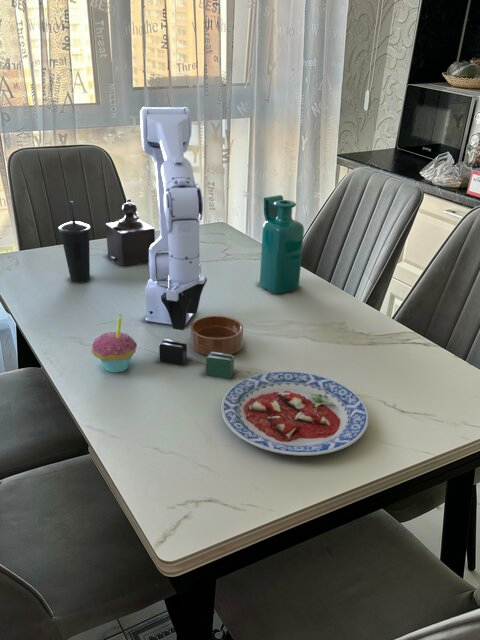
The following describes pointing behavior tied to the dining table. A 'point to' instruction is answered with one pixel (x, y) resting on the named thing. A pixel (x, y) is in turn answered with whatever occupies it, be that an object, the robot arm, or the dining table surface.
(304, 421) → the ceramic plate
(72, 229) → the drinking cup
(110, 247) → the dark brown knobbed box
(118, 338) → the cupcake
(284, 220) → the teal green bottle
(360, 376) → the dining table surface
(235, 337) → the bowl
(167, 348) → the black clip
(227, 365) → the green clip
